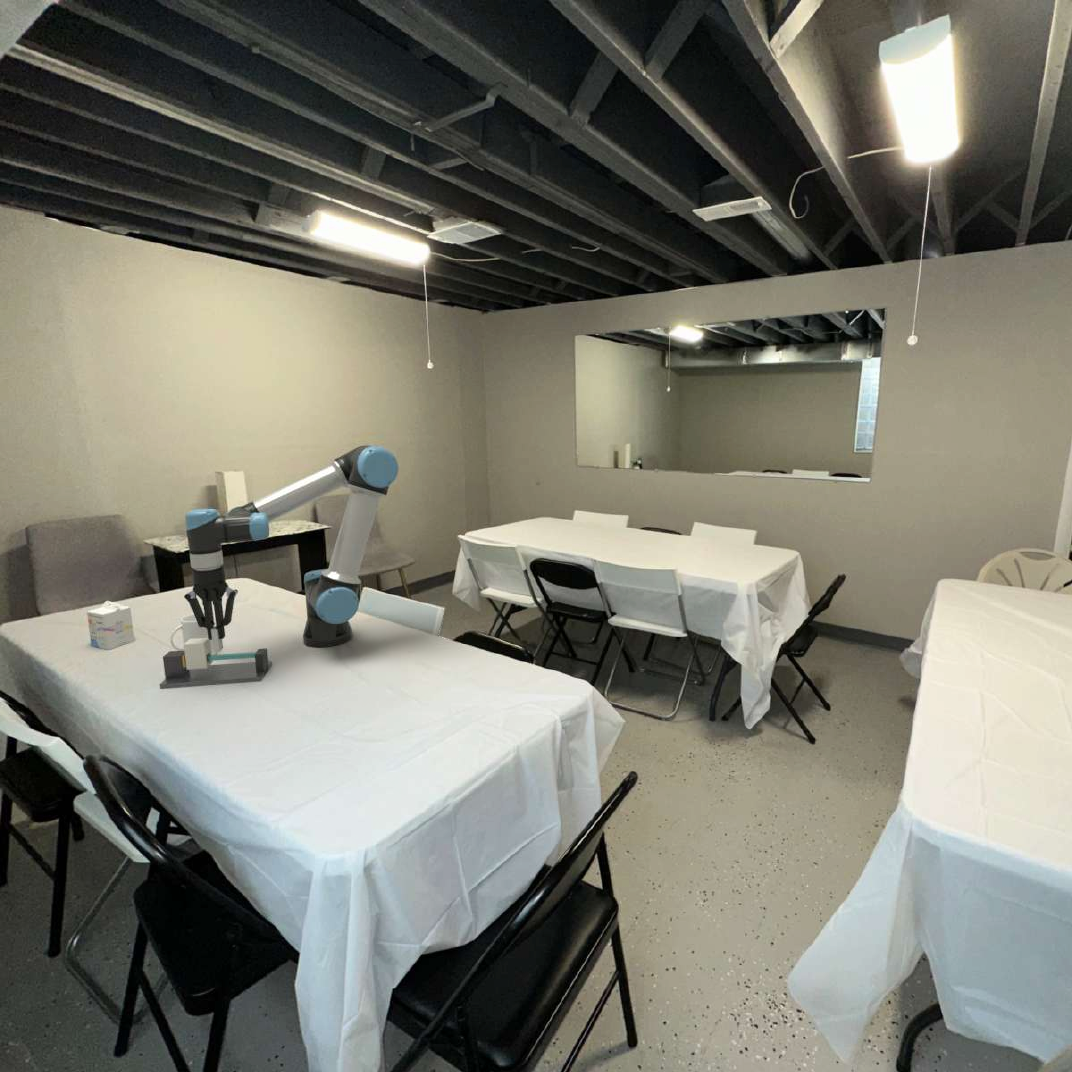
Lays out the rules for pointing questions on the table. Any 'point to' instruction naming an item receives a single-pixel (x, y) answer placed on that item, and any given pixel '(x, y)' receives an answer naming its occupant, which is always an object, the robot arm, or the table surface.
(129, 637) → the ink box
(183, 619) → the mug
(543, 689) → the table surface
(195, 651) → the sleeve
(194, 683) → the glowing rod on plate
